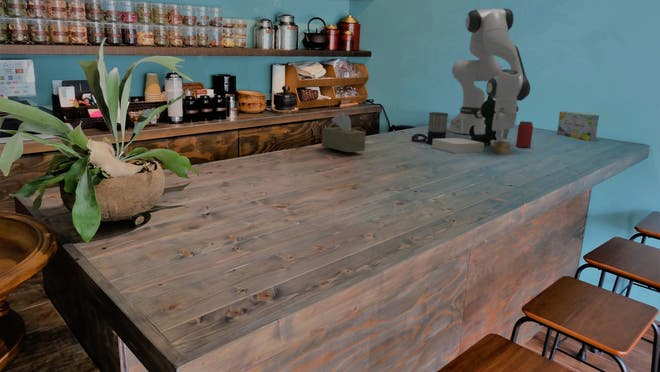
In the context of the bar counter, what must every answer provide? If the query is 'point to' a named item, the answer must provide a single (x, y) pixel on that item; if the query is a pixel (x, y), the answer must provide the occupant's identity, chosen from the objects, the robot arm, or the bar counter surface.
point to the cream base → (458, 145)
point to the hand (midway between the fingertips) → (501, 139)
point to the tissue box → (343, 136)
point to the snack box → (578, 125)
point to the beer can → (524, 134)
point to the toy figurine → (486, 123)
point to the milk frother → (434, 128)
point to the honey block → (501, 147)
